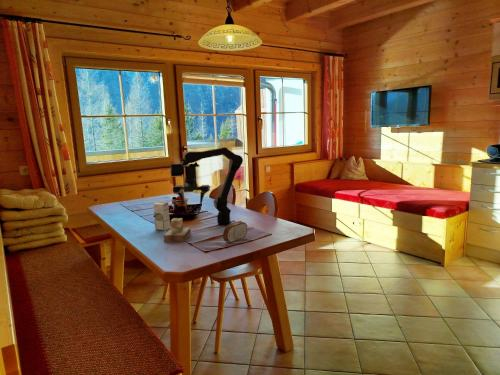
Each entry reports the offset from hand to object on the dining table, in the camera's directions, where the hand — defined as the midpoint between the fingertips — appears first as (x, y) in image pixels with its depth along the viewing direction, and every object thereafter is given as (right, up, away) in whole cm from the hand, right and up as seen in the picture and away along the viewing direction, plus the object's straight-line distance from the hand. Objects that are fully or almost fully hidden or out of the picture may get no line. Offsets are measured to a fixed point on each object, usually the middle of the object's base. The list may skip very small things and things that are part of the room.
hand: (192, 204), depth 183 cm
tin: (+24, -16, -21) cm, 36 cm away
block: (-5, -12, -16) cm, 21 cm away
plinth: (-5, -16, -15) cm, 22 cm away
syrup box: (-16, -13, 0) cm, 21 cm away
